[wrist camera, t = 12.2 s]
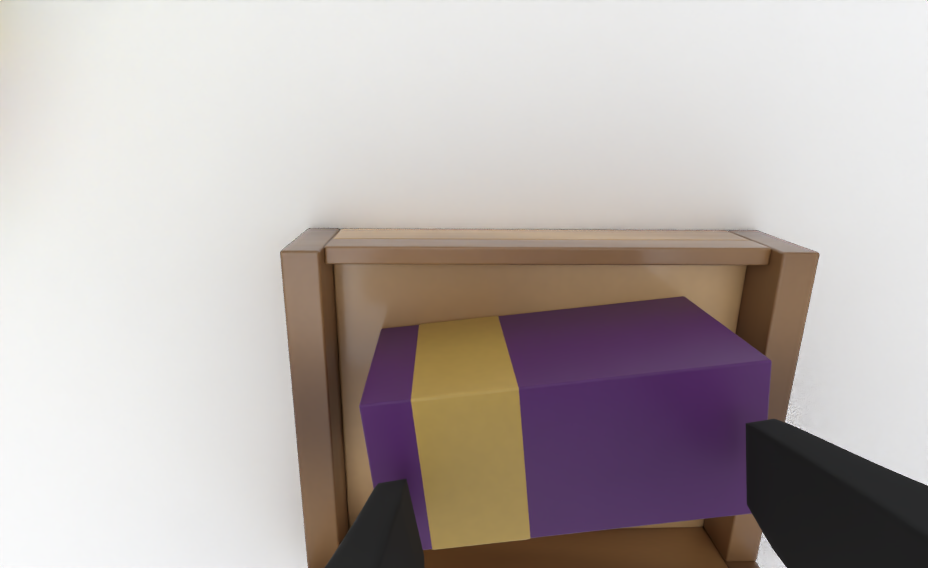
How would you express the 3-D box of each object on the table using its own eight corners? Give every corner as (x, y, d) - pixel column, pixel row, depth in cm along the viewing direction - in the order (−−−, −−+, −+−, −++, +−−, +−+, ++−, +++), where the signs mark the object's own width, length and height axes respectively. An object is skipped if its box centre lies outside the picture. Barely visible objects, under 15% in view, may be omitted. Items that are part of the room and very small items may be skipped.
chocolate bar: (681, 415, 17) (762, 515, 13) (398, 446, 17) (384, 556, 13) (684, 294, 16) (774, 359, 12) (380, 327, 16) (357, 404, 12)
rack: (701, 564, 21) (809, 753, 15) (332, 571, 20) (283, 769, 14) (758, 229, 17) (936, 293, 11) (307, 227, 17) (226, 293, 10)
